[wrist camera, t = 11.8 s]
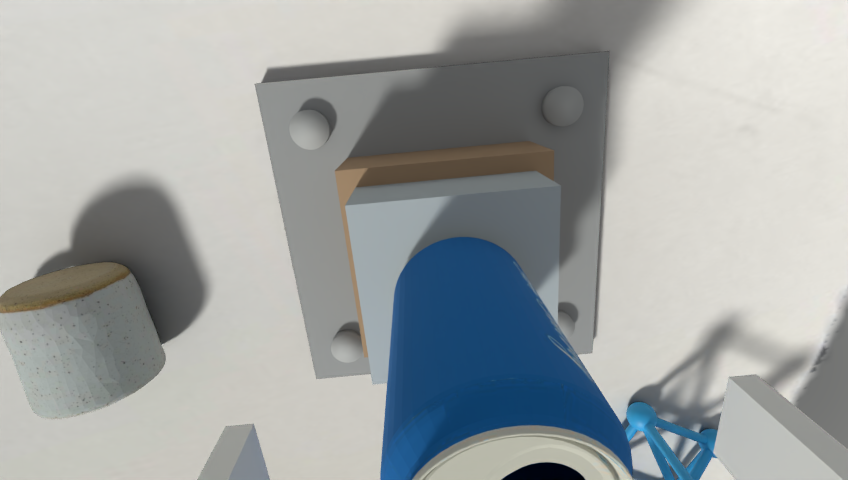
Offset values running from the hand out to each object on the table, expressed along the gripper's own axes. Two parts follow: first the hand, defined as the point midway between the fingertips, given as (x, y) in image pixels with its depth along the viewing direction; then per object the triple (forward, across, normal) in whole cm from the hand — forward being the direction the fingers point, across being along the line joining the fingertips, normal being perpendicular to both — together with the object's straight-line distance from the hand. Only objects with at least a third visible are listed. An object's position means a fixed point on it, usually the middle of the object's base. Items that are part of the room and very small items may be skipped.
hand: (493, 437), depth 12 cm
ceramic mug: (+20, -26, -4) cm, 33 cm away
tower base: (+20, 0, 0) cm, 20 cm away
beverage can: (+10, 0, 0) cm, 10 cm away
